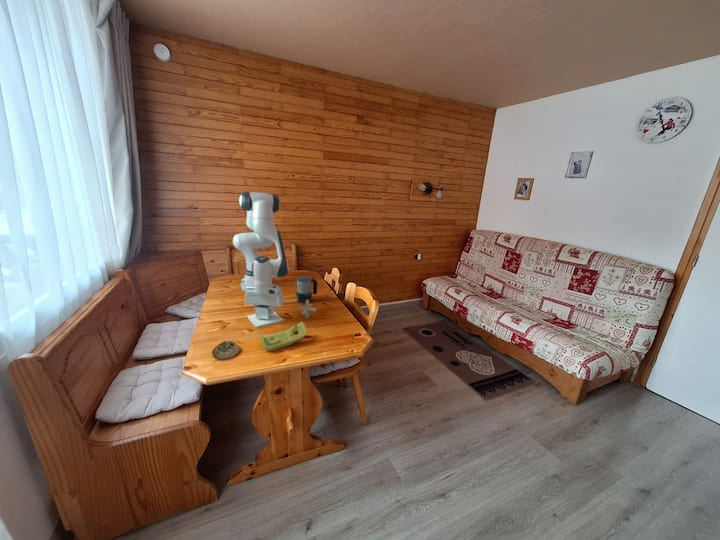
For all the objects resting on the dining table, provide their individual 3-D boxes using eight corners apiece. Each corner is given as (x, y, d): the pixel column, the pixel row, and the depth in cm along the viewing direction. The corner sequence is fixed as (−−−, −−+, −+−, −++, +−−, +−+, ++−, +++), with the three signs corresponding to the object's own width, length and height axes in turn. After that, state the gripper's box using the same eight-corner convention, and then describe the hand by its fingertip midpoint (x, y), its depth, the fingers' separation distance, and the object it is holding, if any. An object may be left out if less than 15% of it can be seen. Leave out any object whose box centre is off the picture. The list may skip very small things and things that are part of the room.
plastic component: (265, 349, 117) (259, 330, 123) (265, 358, 122) (259, 340, 128) (309, 335, 127) (301, 319, 133) (308, 344, 132) (300, 328, 137)
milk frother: (305, 304, 169) (304, 281, 164) (285, 298, 176) (285, 276, 172) (319, 297, 180) (319, 276, 176) (301, 292, 188) (300, 271, 184)
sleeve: (256, 317, 144) (255, 307, 143) (261, 312, 151) (261, 302, 149) (268, 319, 144) (267, 308, 142) (273, 313, 150) (272, 303, 148)
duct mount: (247, 317, 149) (246, 307, 147) (272, 311, 157) (272, 301, 156) (256, 327, 138) (255, 317, 137) (282, 320, 147) (282, 310, 145)
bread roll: (214, 346, 121) (215, 336, 119) (241, 346, 124) (242, 337, 123) (209, 362, 111) (209, 352, 109) (239, 362, 114) (240, 351, 113)
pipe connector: (312, 322, 147) (312, 305, 144) (295, 319, 149) (294, 302, 146) (319, 314, 156) (319, 298, 154) (302, 312, 158) (302, 296, 155)
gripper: (241, 288, 141) (243, 312, 145) (279, 291, 139) (280, 316, 143) (247, 284, 147) (249, 308, 151) (284, 287, 145) (285, 311, 149)
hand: (264, 312), depth 147 cm, fingers closed on sleeve, 6 cm apart
